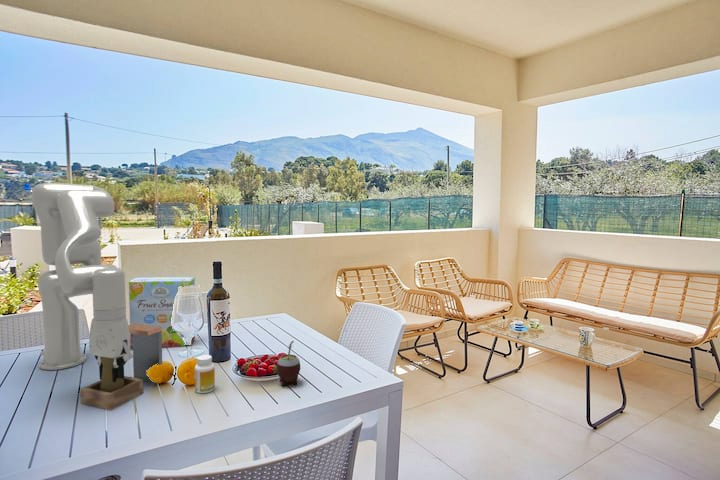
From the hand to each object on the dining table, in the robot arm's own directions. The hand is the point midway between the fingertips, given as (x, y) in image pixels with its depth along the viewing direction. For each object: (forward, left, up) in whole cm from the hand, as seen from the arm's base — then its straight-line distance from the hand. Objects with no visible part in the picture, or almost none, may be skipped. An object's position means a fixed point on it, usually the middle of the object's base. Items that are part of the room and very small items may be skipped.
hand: (112, 378), depth 111 cm
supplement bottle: (+20, +13, -6) cm, 25 cm away
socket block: (0, 0, -6) cm, 6 cm away
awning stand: (0, +10, -6) cm, 11 cm away
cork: (0, 0, -3) cm, 3 cm away
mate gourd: (+41, +25, -6) cm, 48 cm away
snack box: (-20, +39, -6) cm, 44 cm away
